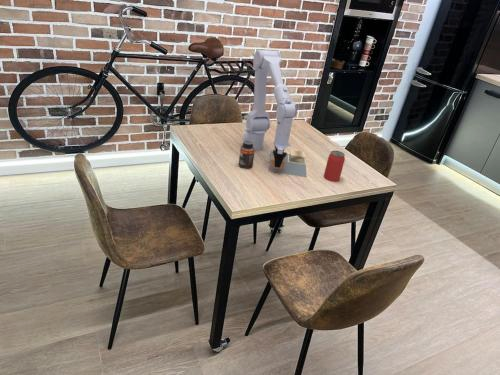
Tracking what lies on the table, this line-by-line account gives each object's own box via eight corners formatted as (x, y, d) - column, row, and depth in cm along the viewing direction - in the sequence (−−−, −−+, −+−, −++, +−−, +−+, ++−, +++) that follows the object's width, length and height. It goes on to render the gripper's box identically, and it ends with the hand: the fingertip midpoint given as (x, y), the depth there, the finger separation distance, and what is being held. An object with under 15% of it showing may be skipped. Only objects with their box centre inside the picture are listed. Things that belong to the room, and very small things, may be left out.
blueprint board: (267, 172, 155) (267, 170, 154) (270, 152, 173) (270, 150, 173) (306, 178, 154) (306, 176, 154) (304, 158, 173) (305, 156, 172)
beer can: (329, 184, 153) (336, 157, 147) (320, 176, 158) (326, 150, 152) (342, 182, 156) (349, 156, 150) (332, 175, 161) (339, 149, 155)
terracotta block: (269, 168, 157) (270, 159, 155) (270, 164, 161) (271, 155, 159) (283, 170, 157) (285, 161, 155) (284, 166, 160) (285, 157, 158)
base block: (289, 161, 166) (291, 155, 164) (290, 155, 171) (291, 149, 169) (303, 163, 165) (304, 157, 164) (303, 158, 171) (304, 151, 169)
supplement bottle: (254, 166, 159) (257, 141, 153) (249, 171, 154) (253, 146, 148) (241, 162, 160) (244, 138, 155) (236, 168, 155) (239, 142, 150)
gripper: (292, 140, 145) (286, 171, 151) (292, 127, 157) (287, 157, 164) (274, 137, 145) (269, 169, 151) (276, 125, 158) (271, 155, 164)
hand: (277, 163), depth 158 cm, fingers open, 7 cm apart
